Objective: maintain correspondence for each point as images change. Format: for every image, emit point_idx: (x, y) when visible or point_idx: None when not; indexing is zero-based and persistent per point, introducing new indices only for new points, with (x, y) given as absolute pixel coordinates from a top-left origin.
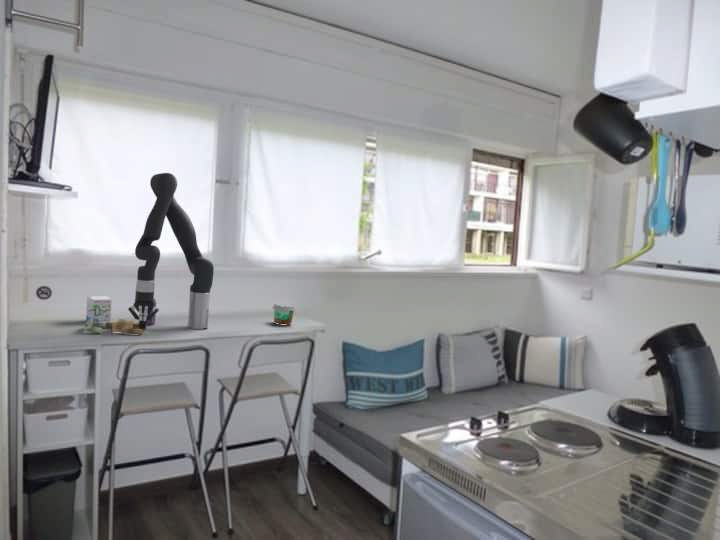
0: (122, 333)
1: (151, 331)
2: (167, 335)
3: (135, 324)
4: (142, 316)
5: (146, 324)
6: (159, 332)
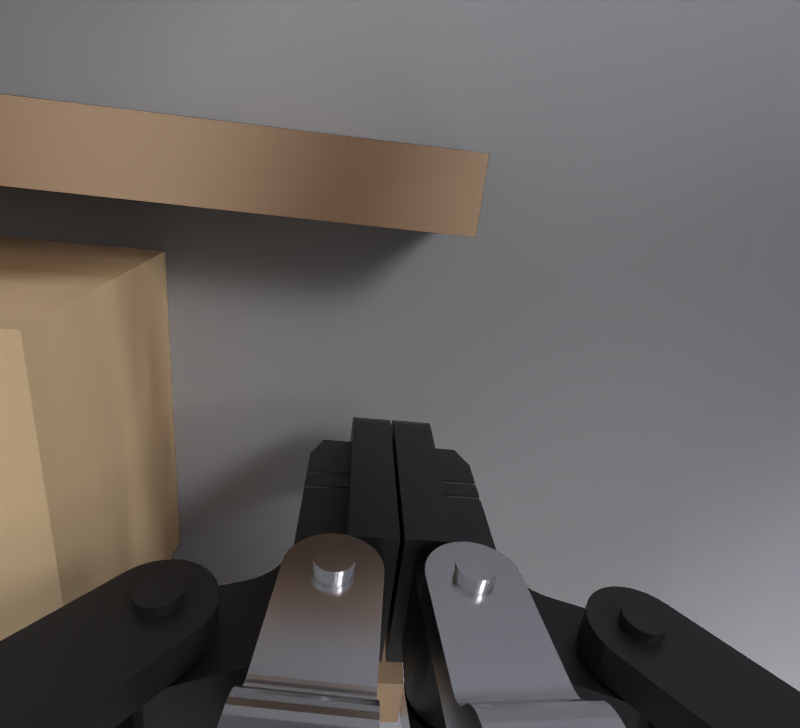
0: None
1: (557, 346)
2: (767, 597)
3: (179, 201)
4: (365, 668)
5: (485, 155)
6: (692, 417)
